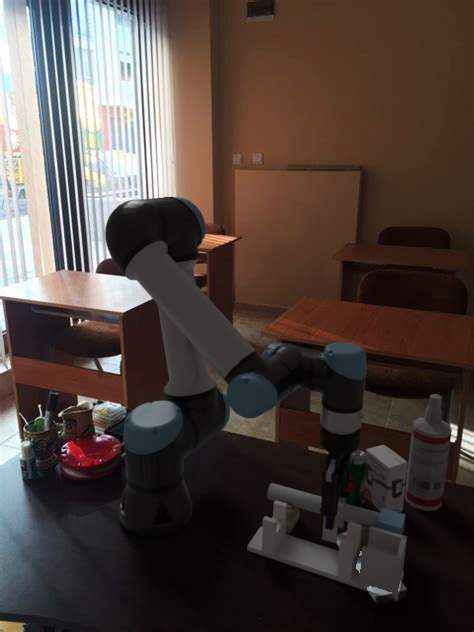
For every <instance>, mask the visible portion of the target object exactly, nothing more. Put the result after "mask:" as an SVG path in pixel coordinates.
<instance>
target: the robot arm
mask: <svg viewBox="0 0 474 632" xmlns="http://www.w3.org/2000/svg"><path fill="white" fill-rule="evenodd" d="M206 230H207V227H206V222H205V218H204V216H203V213H202V212H201V210H200V209H199V208H198V206H197V205H196V204H194V203H193V202H192V201H191V200H189V199H187V198H184V197H181V196H180V197H178V196H164V197H154V198H144V199H139V198H137V199H131V200H127V201H124V202H122V203H121V204H120V203H119V205H117V207H116V208H114V209H113V211H112V212H111V213H110V215H109V216H108V219H107V221H106V224H105V230H104V233H105V234H104V235H105V236H104V237H105V238H104V239H105V244H106V247H107V250H108V252H109V255H110V257H111V259H112V261H113V262H114V264H115V265H116V267H117V268H118V269H119V271H121V273H122V274H123V275H124V276H125V277H126V278H127V280H129V281H137V282H138V284H139V285H141V287H142V289H144V290H145V291H146V293H147V294H148V295H149V296H150V297H151V298H152V299H153V301H154V302H155V303H156V304H157V307H158V309H157V310H158V315H159V321H160V328H161V333H162V341H163V346H164V353H165V359H166V366H167V372H168V377H169V380H168V382H167V384H166V385H165V386H164V388H163V391H164V396H165V397H164V399H165V400H153V401H152V402H149V401H148V402H143V404H140V405H137V406H136V407H134V409H132V410H131V411H130V412H128V414H127V416H126V418H125V420H124V423H123V437H122V439H123V441H122V442H123V445H124V448H123V449H124V460H125V461H124V463H125V476H126V477H125V478H126V479H125V480H126V484H125V488H124V491H123V495H122V497H121V500H120V503H119V521H120V524H121V525H122V527H123V528H124V529H125V530H127V531H128V532H130V533H132V534H133V535H137V536H140V537H144V538H145V537H148V538H156V537H164V536H168V535H171V534H174V533H176V532H178V531H179V530H181V529H183V528H184V527H185V526H186V525H187V524H188V523H189V522H190V520H191V519H192V516H193V499H192V496H191V495H190V492H189V489H188V487H187V484H186V482H185V478H184V461H185V460H184V459H185V458H186V457H188V456H189V455H190V454H192V453H193V452H194V451H196V450H198V449H199V448H201V446H202V445H203V446H204V445H205V443H207V442H208V441H210V440H212V439H214V438H215V437H217V436H218V435H219V434H220V433H221V432H222V431H223V430H224V429H225V428H226V426H227V424H228V423H229V419H230V417H231V410H232V411H233V412H234V413H235V414H236V415H238V416H240V417H242V418H245V419H255V418H257V417H260V416H261V415H263V414H265V413H267V412H269V411H271V410H273V409H274V408H275V407H276V405H277V404H278V403H280V402H281V401H283V400H284V399H285V398H287V397H288V396H290V395H291V394H292V393H294V392H295V391H297V390H298V389H303V390H307V391H311V392H315V393H320V394H321V401H320V402H321V403H320V404H321V405H320V406H321V407H320V417H319V420H320V421H319V423H320V425H319V435H318V436H319V439H318V442H319V445H320V446H321V447H322V448H323V449H325V451H327V454H326V455H325V460H324V461H325V470H324V469H323V470H322V472H321V480H322V484H321V486H322V487H321V497H322V500H321V508H320V510H319V511H320V512H321V514H320V516H323V521H322V522H323V523H322V536H321V537H322V540H324V541H326V542H330V543H333V544H337V542H338V532H339V529H344V526H345V525H344V523H345V521H343V520H339V512H338V503H339V502H342V503H345V500H346V498H344V497H348V498H349V497H350V492H347V489H348V488H349V478H350V466H351V454H352V452H355V451H356V450H357V449H358V450H359V448H360V447H361V437H362V430H361V428H362V423H363V422H362V420H364V419H366V414H365V413H363V409H364V408H363V407H364V399H365V398H364V397H365V396H364V395H365V387H366V379H367V378H366V377H367V374H368V371H367V353H366V350H365V349H364V348H363V347H362V346H360V345H358V344H355V343H351V342H339V341H338V342H333V343H328V344H327V345H326V346H325V348H324V351H319V350H316V349H310V348H306V347H302V346H297V345H293V344H292V343H281V342H271V343H269V344H268V345H267V346H266V348H265V350H264V351H263V352H262V354H261V355H260V353H258V351H257V350H256V349H255V348H254V347H253V346H252V345H251V344H250V342H249V341H248V340H247V339H246V338H245V337H244V336H243V335H242V333H241V332H239V330H238V329H237V328H236V327H235V326H234V325H233V324H232V323H231V322H230V321H229V319H228V318H227V317H226V315H224V314H223V313H222V312H221V310H219V309H218V307H217V306H216V305H215V304H214V303H213V301H211V299H210V298H209V297H208V296H207V295H206V294H205V293H204V292H203V290H201V288H200V287H199V286H198V285H197V284H196V277H195V271H194V268H195V265H197V263H198V262H199V260H200V255H199V247H200V246H201V244H203V240H204V239H205V237H206ZM207 363H209V365H211V366H212V368H213V369H214V370H215V371H216V372H217V373H218V375H219V376H220V377H221V378H222V379H223V381H225V383H226V384H227V387H226V393H223V392H224V390H223V389H222V388H221V387H220V386H218V385H217V384H218V383H217V380H216V379H215V378H214V377H212V376H211V375H209V371H208V364H207Z"/></svg>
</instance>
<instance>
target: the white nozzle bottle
mask: <svg viewBox="0 0 474 632" xmlns="http://www.w3.org/2000/svg"><path fill="white" fill-rule="evenodd" d="M441 405H442V396H441V395H440V394H438V393H434V394H433V393H432V394H430V396H429V401H428V404H427V406H426V408H425V413H424V417H418V418H416V419H414V420H413V421H412V429H411V437H410V438H411V439H410V444H409V445H410V446H409V455H408V462H407V463H408V464H407V473H406V482H405V492H404V499H405V502H406V503H408V504H409V505H410V506H411V507H413V508H415V509H418V510H422V511H424V512H429V511H437V510H438V509H439V508H440V507H442V506H443V505H442V504H443V499H444V491H445V484H446V483H445V482H446V476H447V471H448V470H447V468H448V462H449V453H450V445H451V439H452V431H453V429H452V426H451V424H450V423H448V422H446V421H445V420H443V419H442V418H443V417H442V416H443V411H442V410H443V409H442V406H441Z"/></svg>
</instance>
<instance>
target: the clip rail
mask: <svg viewBox="0 0 474 632" xmlns="http://www.w3.org/2000/svg"><path fill="white" fill-rule="evenodd" d="M272 509H273V511H272V514H273V515H272V517H269V516H267V515H266V516H264V517H263V518H262V526H260V527H259V528H258V530H257V531H256V532H255V534H254V535H253V537H252V539H251V540H250V541H249V543H248V544H247V549H246V550H247V551H248V552H251V553H253V554H256V555H260V556H263V557H266V558H269V559H271V560H275V561H277V562H281V563H283V564H287V565H289V566H293V567H295V568H298V569H301V570H304V571H307V572H310V573H312V574H315V575H319V576H321V577H323V578H327V579H331V580H334V581H337V582H340V583H342V584H345V585H349V586H351V587H355V588H357V589H360V590H363V591H366V592H368V591H367V587H369V586H372V587H377V588H379V589H383V590H386V591H388V592H392V593H393V595H394V597H395V599H396V600H394V602H395V601H396V602H398V600H399V597H398V595H399V596H400V593H398V588H399V584H400V581H401V582H402V583H403V580H404V576H405V575H404V574H405V571H404V565H405V556H406V548H407V539H408V536H406V535H404V534H402V535H400V534H396V533H393V532H389V531H386V530H383V529H379V528H376V527H372V526H370V530H369V541H368V546H367V548H366V547H363V548H362V555H361V557H360V556H359V554H360V542H361V531H362V525H359V524H356V523H352V522H347V527H346V539H343V538H342V539H340V541H339V546H338V547H339V549H338V550H336V549H334V548H330V547H327V546H325V545H321V544H318V543H315V542H312V541H309V540H306V539H302V538H298V537H295V536H292V535H291V534H287V533H286V519H287V503H283V502H280V501H276V500H275V501H273V508H272ZM359 557H360V558H361V569H360V573H359V571H358V570H357V569H356V564H357V561H358V558H359Z"/></svg>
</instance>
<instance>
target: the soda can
mask: <svg viewBox="0 0 474 632" xmlns="http://www.w3.org/2000/svg"><path fill="white" fill-rule="evenodd" d="M366 466H367V458H366V452H364V451H363V450H361V449H359V448H358V449H357V450H356V451H355V452H352V454H351V466H350V478H349V488H348V489H347V492H350V497H349V498H348V497H344V498H346V500H345V503H346V504H349V505H353V506H357V507H360V508H361V507H362V506H363V505H364V499H365V497H364V489H365V478H366Z"/></svg>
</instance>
